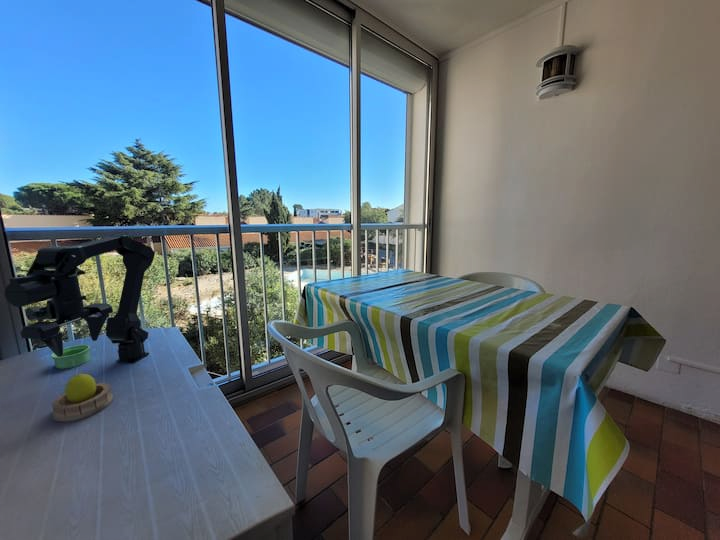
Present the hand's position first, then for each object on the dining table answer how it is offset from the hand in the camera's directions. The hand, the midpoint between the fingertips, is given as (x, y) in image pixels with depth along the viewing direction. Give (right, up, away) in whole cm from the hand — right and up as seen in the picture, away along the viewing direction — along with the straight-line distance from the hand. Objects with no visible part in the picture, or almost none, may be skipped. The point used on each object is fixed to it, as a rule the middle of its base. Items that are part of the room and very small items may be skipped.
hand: (78, 348), depth 79 cm
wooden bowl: (+8, -13, -7) cm, 17 cm away
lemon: (+8, -12, -7) cm, 16 cm away
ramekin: (-16, -9, +15) cm, 24 cm away
